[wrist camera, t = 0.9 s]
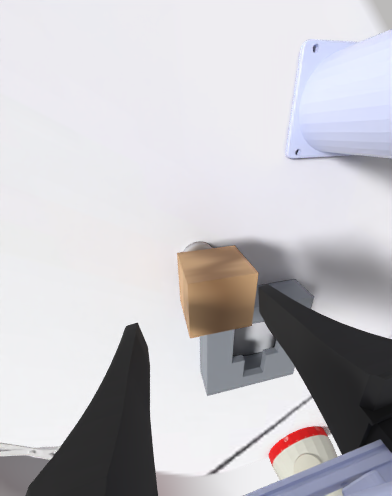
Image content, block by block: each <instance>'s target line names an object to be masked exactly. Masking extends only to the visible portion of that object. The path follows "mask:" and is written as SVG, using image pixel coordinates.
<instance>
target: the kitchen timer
mask: <svg viewBox="0 0 392 496" xmlns="http://www.w3.org/2000/svg"><path fill="white" fill-rule="evenodd" d="M336 457H337V454H336V452H335V449H334V447H333V445H332V443H331V441H330V439H329V437H328V436H327V434H326V433H325V431H324V429H323V428H321V427H315V426H313V427H307V428H303V429H300V430H297V431H295V432H293V433H291V434H289V435H287V436H286V437H284V438H283V439H281V440H280V441H279V442H278V443H276V444H275V445H274V446H273V448H272V449H271V450H270V453H269V459H270V461H271V464H272V466H273V468H274V470H275V472H276V474H277V476H278V477H279V479H280V480H282V479H285V478H287V477H290V476H292V475H294V474H297V473H299V472H302V471H304V470H307V469H309V468H312V467H314V466H316V465H319V464H321V463H324V462H326V461H329V460H331V459H333V458H336ZM343 488H344V487H343ZM343 488H341V489H339V490H336V491H334V492H332V493H330V494H327V495H325V496H343V494H342V489H343Z"/></svg>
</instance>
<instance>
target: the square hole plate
mask: <svg viewBox="0 0 392 496" xmlns="http://www.w3.org/2000/svg"><path fill="white" fill-rule="evenodd" d="M263 285H266V284H263ZM269 285H270V286H272V287H273V288H275V289H277V290H278V291H280V292H282V293H283V294H285V295H286V296H288V297H290V298H291V299H293V300H295V301H297V302H298V303H300V304H302V305H304V306H306V307H307V308H309V309H311V306H312V303H313V299H314V296H313V295H312V294H310V293H309V292H308V291H307V290H306V289H305V288H304V287H303V286H302V285H301V284H300V283H299V282H298V281H296V280H295V279H293V280H287V281H281V282H275V283H269ZM259 286H262V285H257V289H256V297H255V305H254V313H253V321H252V324H254V323H259V322H264V320H263V318H262V316H261V314H260V312H259V295H258V287H259ZM234 331H235V329H234V330H229V331H224V332H219V333H214V334H209V335H204V336H200V368H201V375H202V378H203V382H204V386H205V390H206V393H207V396H209V395H213V394H217V393H220V392H224V391H228V390H232V389H236V388H240V387H244V386H248V385H252V384H256V383H259V382H263V381H267V380H271V379H275V378H279V377H283V376H287V375H291V374H293V371H294V368H295V366H294V364H293V363H292V361H291V360H290V358H289V357H288V355H287V354H286V353H285V351H284V350H283V348H282V347H281V346H280V344H279V343H278V341H277V340H276V341H275V346H274V348H269V349H265V350H263V352H261V353H256V354H252V355H248V356H242V355H238V356H234V357H232V356H233V343H234Z"/></svg>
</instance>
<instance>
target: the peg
mask: <svg viewBox="0 0 392 496" xmlns="http://www.w3.org/2000/svg"><path fill="white" fill-rule="evenodd" d="M177 258H178V272H179V287H180V301H181V305H182V309H183V312H184V316H185V320H186V324H187V328H188V332H189V336H190V338H194V337H199V336H204V335H209V334H214V333H219V332H224V331H229V330H234V329H239V328H244V327H248V326H252V321H253V313H254V305H255V297H256V289H257V281H258V272H257V271H256V270H255V268H254V267H253V266H252V265H251V264H250V263H249V261H248V260H247V259H246V258H245V257H244V256H243V255H242V253H241V252H240V251H239V250H238V249H237V248H236V246H227V247H219V248H212V247H211V246H210V245H209V244H208V243H205V242H195V243H192V244H190V245H189V246H187V247H186V248H185V250H184V251H183V252H180V253H177Z"/></svg>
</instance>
